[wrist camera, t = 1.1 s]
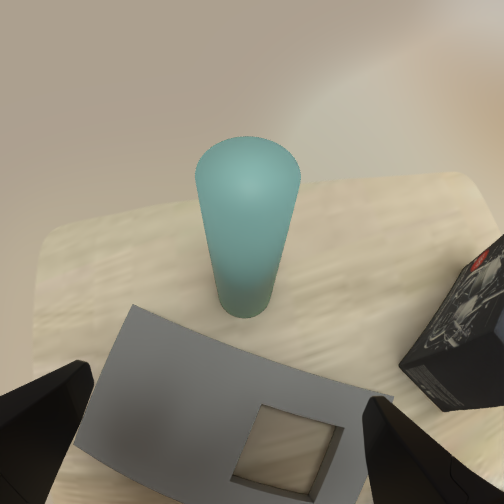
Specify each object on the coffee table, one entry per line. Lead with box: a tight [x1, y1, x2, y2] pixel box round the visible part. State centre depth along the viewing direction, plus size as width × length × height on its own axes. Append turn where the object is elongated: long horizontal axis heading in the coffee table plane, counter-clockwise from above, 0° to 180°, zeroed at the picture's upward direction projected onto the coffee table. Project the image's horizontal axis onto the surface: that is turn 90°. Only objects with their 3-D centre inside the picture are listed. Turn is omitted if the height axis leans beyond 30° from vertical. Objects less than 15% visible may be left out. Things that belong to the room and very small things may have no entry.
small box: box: [399, 234, 504, 412], centre depth 17 cm, size 13×7×12 cm, turn 132°
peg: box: [195, 136, 301, 318], centre depth 18 cm, size 4×4×14 cm
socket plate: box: [74, 304, 394, 504], centre depth 18 cm, size 12×20×2 cm, turn 70°
